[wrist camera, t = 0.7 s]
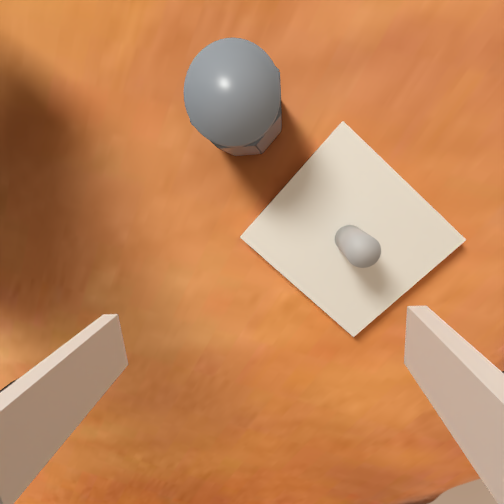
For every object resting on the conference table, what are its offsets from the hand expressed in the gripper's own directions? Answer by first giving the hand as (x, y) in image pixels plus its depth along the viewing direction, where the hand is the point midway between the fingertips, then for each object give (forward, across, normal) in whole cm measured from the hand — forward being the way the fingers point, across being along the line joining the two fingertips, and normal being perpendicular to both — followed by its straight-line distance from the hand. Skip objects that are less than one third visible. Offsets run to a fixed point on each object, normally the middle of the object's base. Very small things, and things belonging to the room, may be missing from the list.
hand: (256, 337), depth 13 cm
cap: (+22, -2, +14) cm, 26 cm away
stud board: (+22, +8, 0) cm, 23 cm away
